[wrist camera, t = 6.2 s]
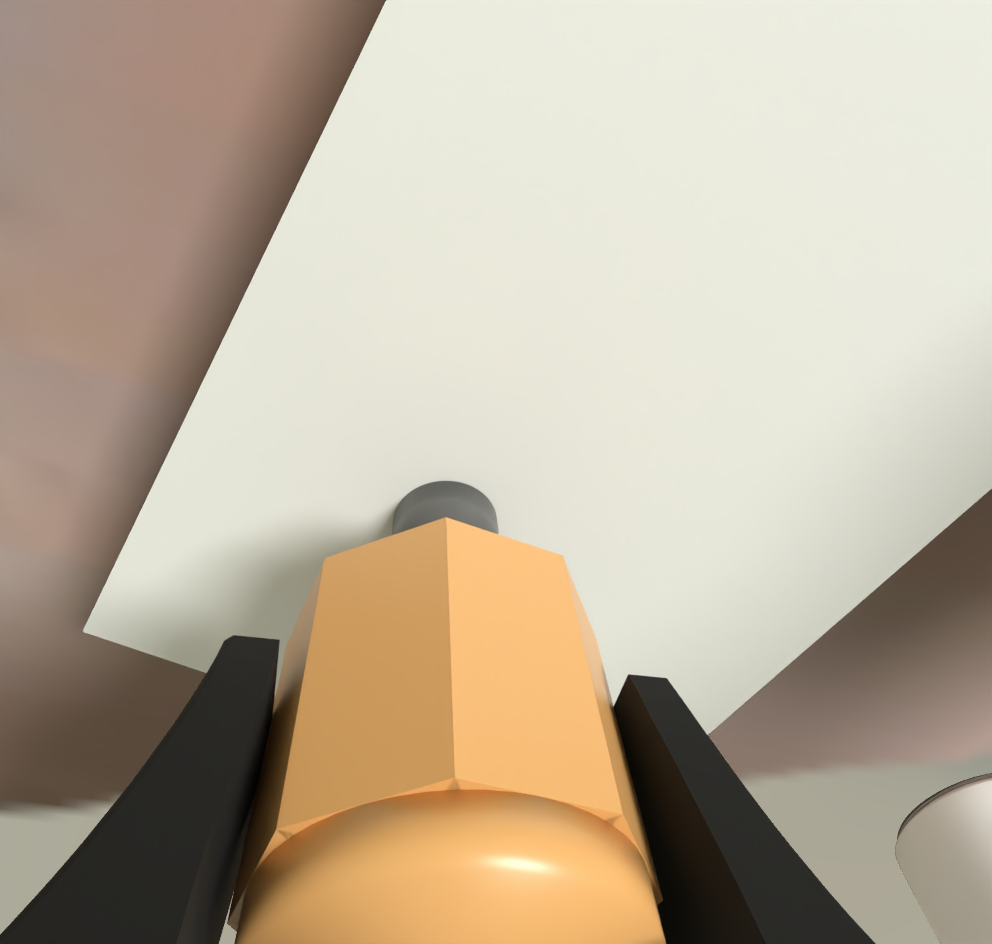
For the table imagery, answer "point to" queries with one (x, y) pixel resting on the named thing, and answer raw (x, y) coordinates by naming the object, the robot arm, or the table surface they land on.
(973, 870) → the can
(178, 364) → the table surface
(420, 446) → the junction box
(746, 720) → the table surface
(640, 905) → the cap
